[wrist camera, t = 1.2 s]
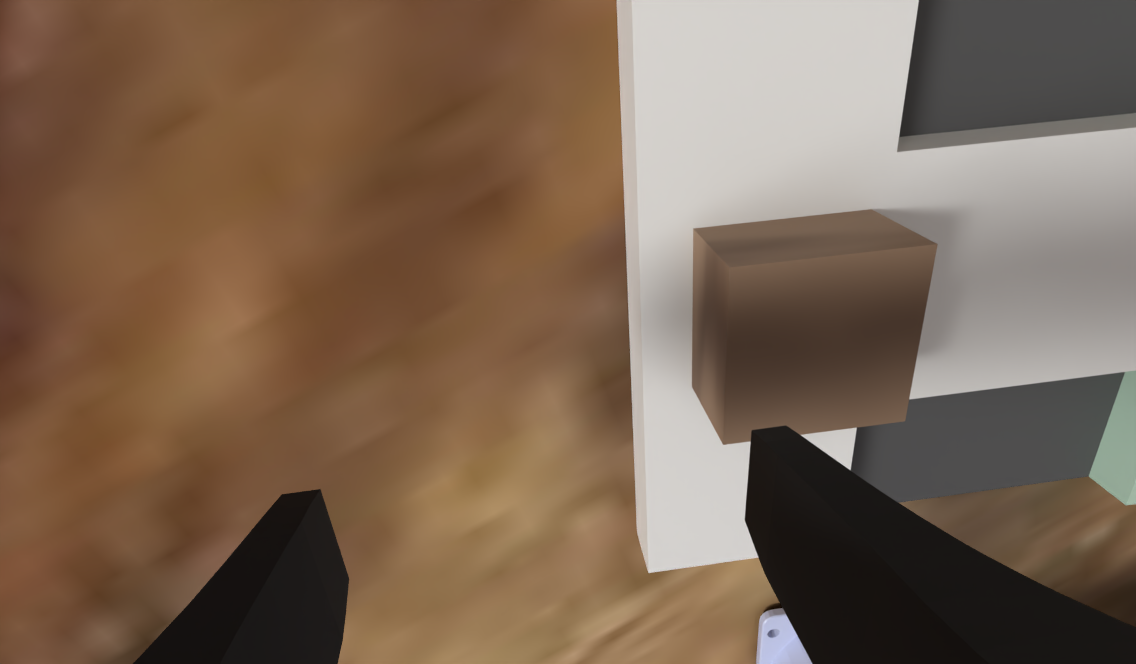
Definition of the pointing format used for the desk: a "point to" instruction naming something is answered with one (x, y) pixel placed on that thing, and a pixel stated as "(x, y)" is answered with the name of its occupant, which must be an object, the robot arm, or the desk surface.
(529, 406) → the desk surface
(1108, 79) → the trap board
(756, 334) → the walnut block
